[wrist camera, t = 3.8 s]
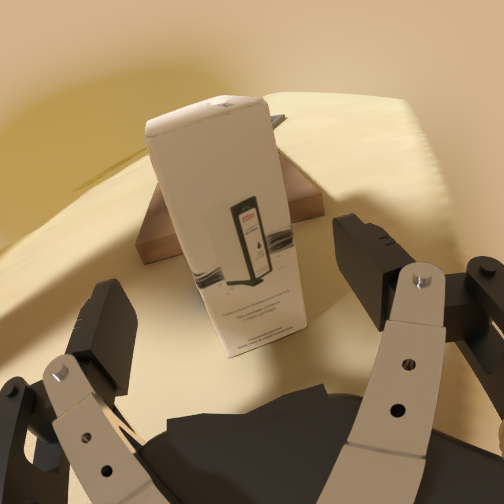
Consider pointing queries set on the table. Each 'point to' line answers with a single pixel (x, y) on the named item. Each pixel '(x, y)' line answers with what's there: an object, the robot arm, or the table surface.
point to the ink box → (231, 216)
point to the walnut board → (165, 238)
